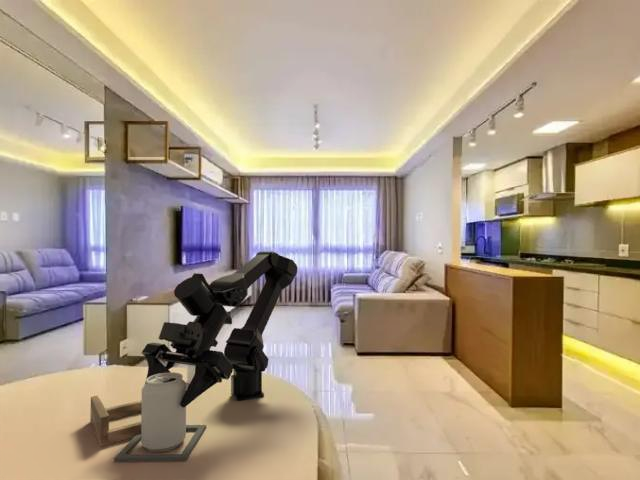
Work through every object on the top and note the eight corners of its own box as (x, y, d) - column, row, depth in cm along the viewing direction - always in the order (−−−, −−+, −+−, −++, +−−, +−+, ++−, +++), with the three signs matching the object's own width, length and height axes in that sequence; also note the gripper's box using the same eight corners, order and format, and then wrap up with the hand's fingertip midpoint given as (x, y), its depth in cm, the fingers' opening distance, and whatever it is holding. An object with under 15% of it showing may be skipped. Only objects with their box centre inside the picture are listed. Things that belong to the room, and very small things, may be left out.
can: (170, 456, 66) (171, 385, 66) (131, 452, 67) (132, 382, 67) (193, 435, 73) (194, 371, 73) (158, 432, 74) (158, 369, 75)
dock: (151, 407, 86) (151, 384, 86) (168, 427, 76) (168, 401, 76) (90, 421, 79) (90, 396, 79) (100, 446, 69) (100, 417, 69)
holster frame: (145, 428, 76) (145, 425, 76) (206, 427, 76) (206, 424, 76) (113, 461, 64) (113, 457, 64) (186, 461, 64) (186, 457, 64)
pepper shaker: (188, 379, 104) (188, 344, 105) (203, 378, 105) (203, 343, 106) (186, 384, 100) (187, 347, 101) (202, 383, 101) (203, 346, 102)
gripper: (150, 302, 79) (98, 372, 69) (224, 308, 71) (178, 387, 61) (178, 334, 86) (135, 402, 76) (248, 342, 78) (211, 419, 68)
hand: (162, 402), depth 70 cm, fingers open, 9 cm apart
